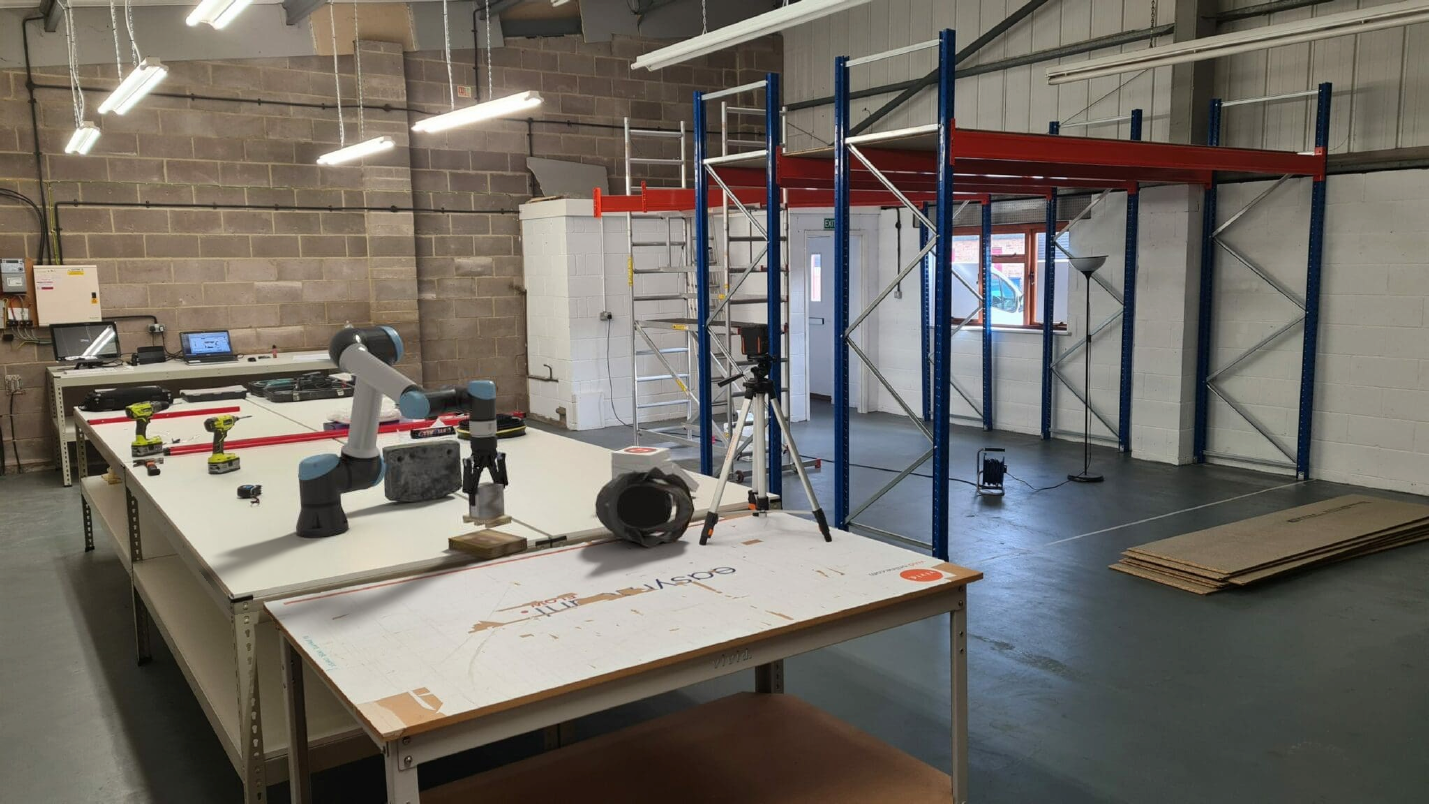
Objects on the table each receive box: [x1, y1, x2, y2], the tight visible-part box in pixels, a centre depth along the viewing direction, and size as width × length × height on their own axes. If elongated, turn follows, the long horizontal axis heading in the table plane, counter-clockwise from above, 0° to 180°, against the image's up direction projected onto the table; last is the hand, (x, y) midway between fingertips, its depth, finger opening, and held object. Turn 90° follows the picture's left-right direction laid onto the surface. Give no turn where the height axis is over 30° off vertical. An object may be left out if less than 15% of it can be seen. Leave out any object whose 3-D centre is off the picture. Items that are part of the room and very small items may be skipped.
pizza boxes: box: [610, 445, 700, 503], centre depth 343 cm, size 19×30×18 cm, turn 135°
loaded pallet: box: [462, 481, 513, 529], centre depth 281 cm, size 8×12×11 cm, turn 51°
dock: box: [447, 528, 528, 560], centre depth 282 cm, size 14×18×3 cm
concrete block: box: [382, 439, 463, 503], centre depth 345 cm, size 27×9×20 cm, turn 125°
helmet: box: [595, 467, 695, 549], centre depth 290 cm, size 23×32×25 cm
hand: (486, 513), depth 281 cm, fingers closed on loaded pallet, 7 cm apart
